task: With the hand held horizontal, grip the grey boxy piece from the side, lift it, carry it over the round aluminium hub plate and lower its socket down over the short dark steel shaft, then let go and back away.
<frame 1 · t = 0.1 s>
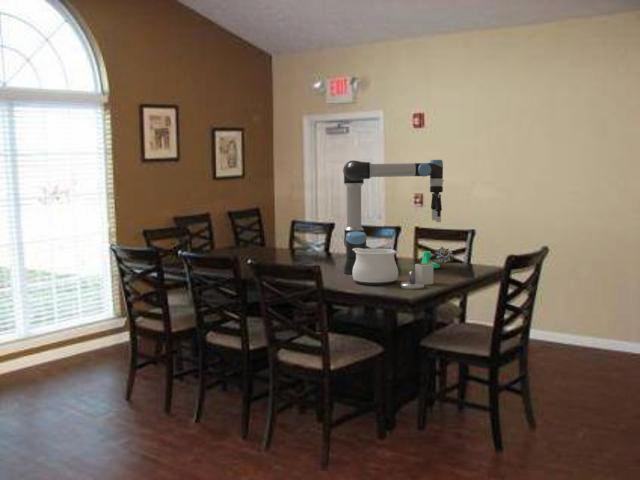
hand: (436, 221, 431), 28 cm above the table, tool pointing down, fingers open, 13 cm apart
hub plate: (412, 287, 368), on the table
camera mount: (430, 268, 433), on the table
pot: (375, 282, 385), on the table
grey boxy piece: (424, 283, 379), on the table
passion flower: (443, 262, 459), on the table
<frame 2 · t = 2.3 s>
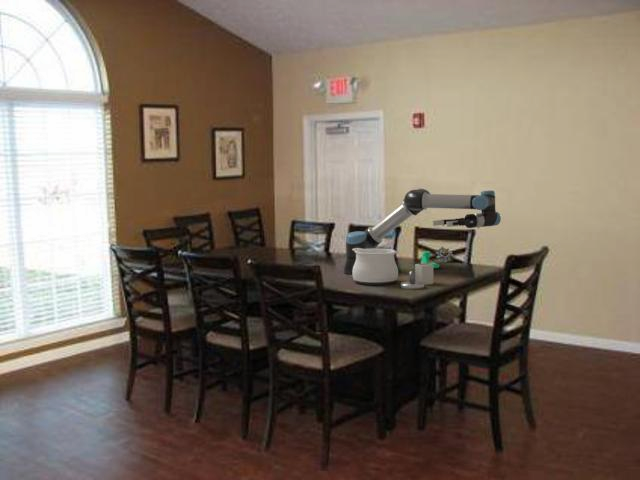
hand: (439, 223, 381), 31 cm above the table, tool horizontal, fingers open, 13 cm apart
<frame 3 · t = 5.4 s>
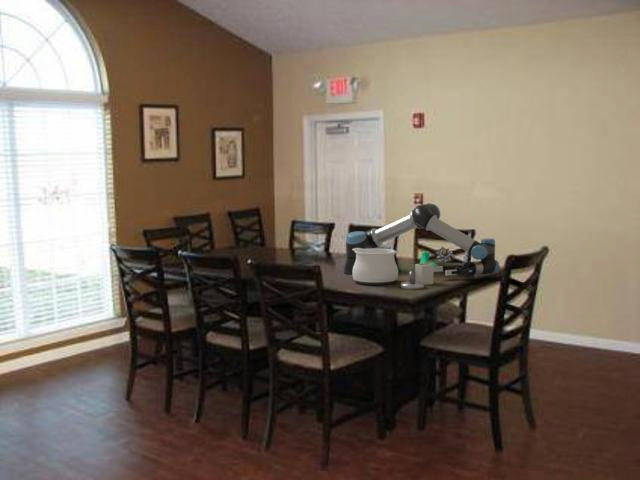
hand: (438, 271, 382), 6 cm above the table, tool horizontal, fingers open, 13 cm apart
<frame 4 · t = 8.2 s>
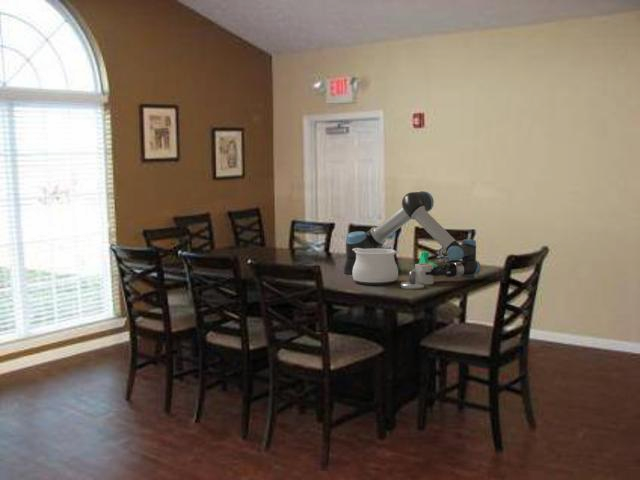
hand: (415, 272, 377), 6 cm above the table, tool horizontal, fingers closed on grey boxy piece, 7 cm apart
grey boxy piece: (424, 283, 379), on the table, touching gripper
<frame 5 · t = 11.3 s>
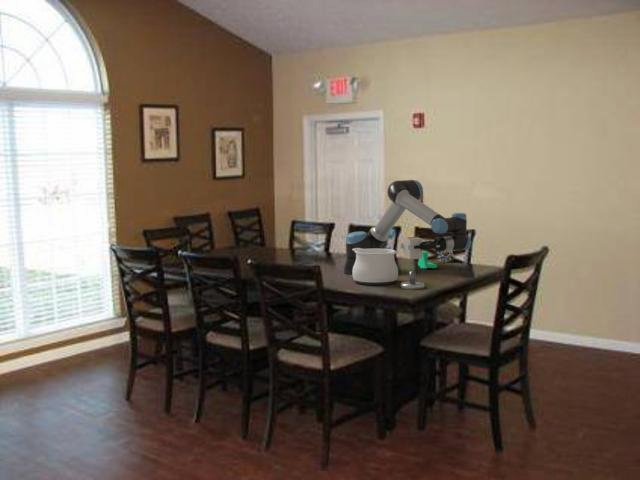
hand: (404, 246, 364), 21 cm above the table, tool horizontal, fingers closed on grey boxy piece, 7 cm apart
grey boxy piece: (412, 257, 366), point 15 cm above the table, touching gripper
when the fingers open (9 cm above the table, at t = 14.3 s): grey boxy piece stays where it is, resting on hub plate.
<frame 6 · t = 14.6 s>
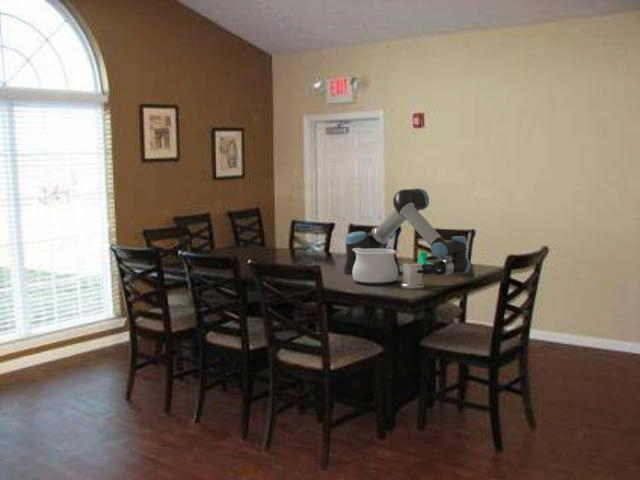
hand: (405, 270, 366), 9 cm above the table, tool horizontal, fingers open, 11 cm apart
grey boxy piece: (412, 283, 368), point 2 cm above the table, touching hub plate
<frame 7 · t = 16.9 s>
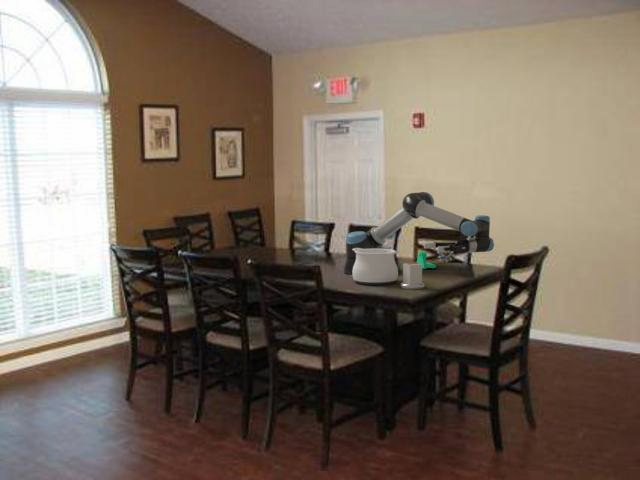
hand: (431, 247, 372), 20 cm above the table, tool horizontal, fingers open, 13 cm apart
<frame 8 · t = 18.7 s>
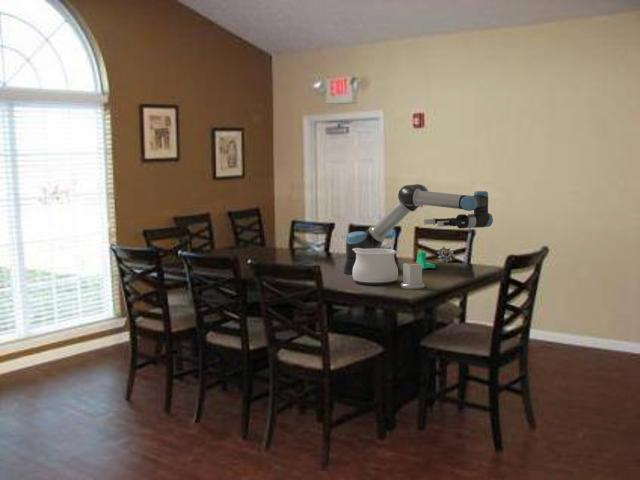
hand: (430, 223, 374), 32 cm above the table, tool horizontal, fingers open, 13 cm apart
at the end: grey boxy piece 0.1 cm off-centre on the hub plate, point 2.0 cm above the hub plate's base; grey boxy piece tilted 0°; the gripper is holding nothing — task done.
